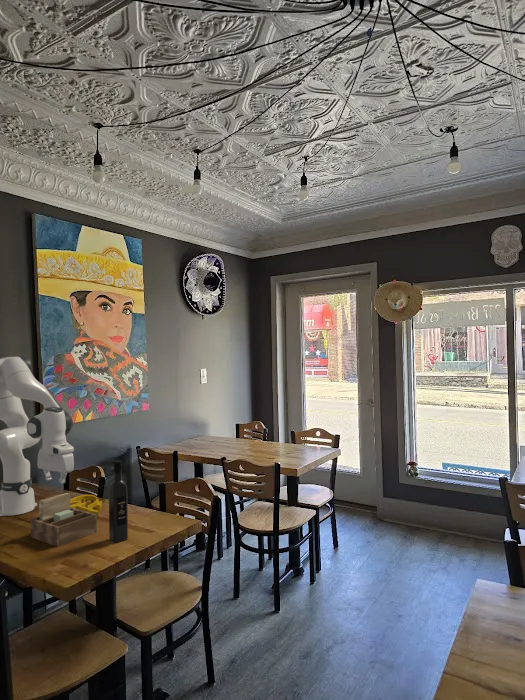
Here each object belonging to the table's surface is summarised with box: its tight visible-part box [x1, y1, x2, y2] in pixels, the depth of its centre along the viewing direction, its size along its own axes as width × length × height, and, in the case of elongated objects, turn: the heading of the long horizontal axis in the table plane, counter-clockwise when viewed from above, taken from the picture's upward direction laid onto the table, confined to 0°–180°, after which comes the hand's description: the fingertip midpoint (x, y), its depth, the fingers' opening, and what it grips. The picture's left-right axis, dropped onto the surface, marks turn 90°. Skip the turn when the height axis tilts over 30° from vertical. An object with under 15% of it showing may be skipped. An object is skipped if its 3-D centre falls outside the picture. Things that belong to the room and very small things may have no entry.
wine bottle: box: [108, 460, 129, 544], centre depth 176 cm, size 6×6×30 cm
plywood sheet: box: [38, 492, 71, 521], centre depth 185 cm, size 2×12×14 cm, turn 147°
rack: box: [30, 507, 98, 548], centre depth 182 cm, size 18×17×7 cm
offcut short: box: [54, 510, 73, 522], centre depth 182 cm, size 4×6×3 cm, turn 149°
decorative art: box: [70, 494, 103, 518], centre depth 212 cm, size 21×3×30 cm
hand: (55, 481), depth 185 cm, fingers open, 8 cm apart
